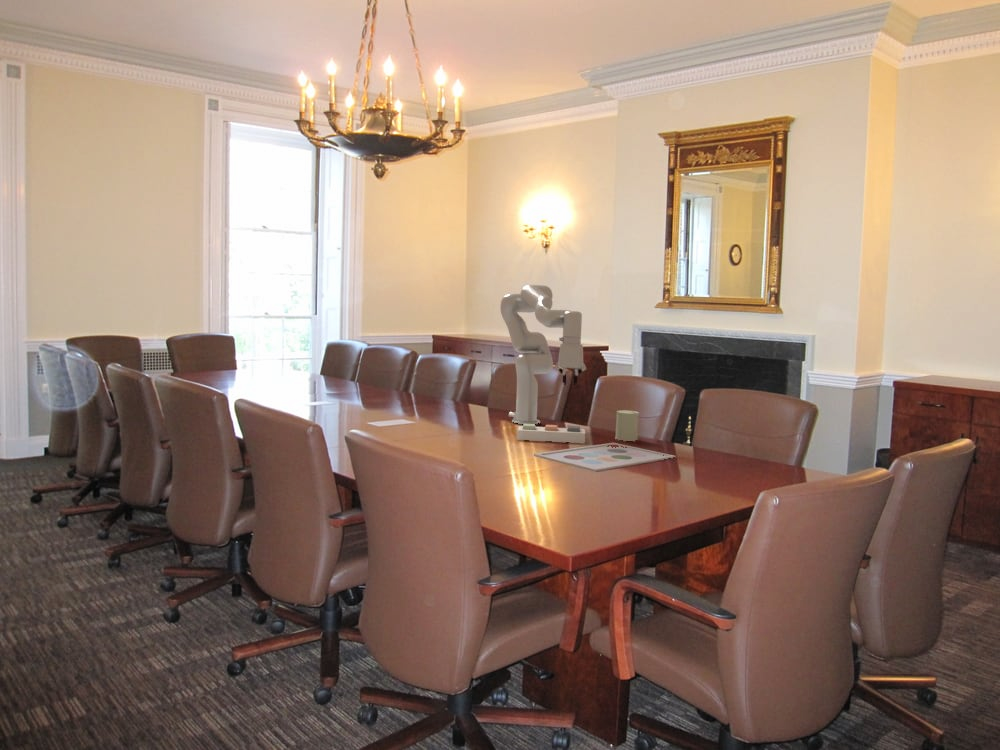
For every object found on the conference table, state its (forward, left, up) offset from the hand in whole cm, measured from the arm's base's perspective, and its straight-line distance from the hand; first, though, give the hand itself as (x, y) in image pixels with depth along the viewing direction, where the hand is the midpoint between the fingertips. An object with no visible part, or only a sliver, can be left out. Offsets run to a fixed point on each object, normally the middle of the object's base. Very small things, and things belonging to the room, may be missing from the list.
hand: (569, 384), depth 350 cm
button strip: (0, -15, -21) cm, 26 cm away
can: (+24, +6, -21) cm, 33 cm away
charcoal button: (+8, -11, -19) cm, 23 cm away
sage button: (-8, -19, -19) cm, 28 cm away
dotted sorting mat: (+32, -33, -22) cm, 51 cm away
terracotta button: (0, -15, -19) cm, 24 cm away
